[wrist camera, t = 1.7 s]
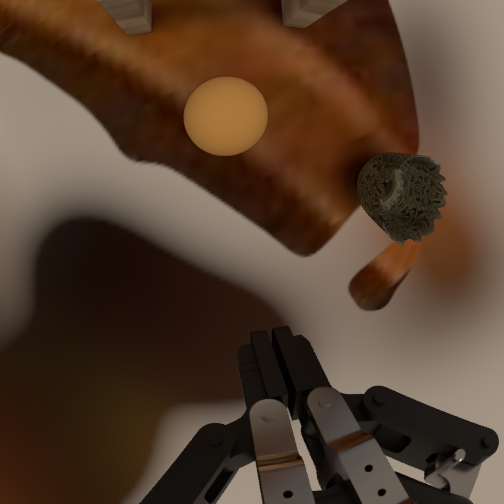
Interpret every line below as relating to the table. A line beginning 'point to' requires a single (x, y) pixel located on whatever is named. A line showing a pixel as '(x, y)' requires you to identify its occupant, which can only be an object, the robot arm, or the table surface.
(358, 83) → the table surface
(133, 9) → the bridge
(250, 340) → the robot arm
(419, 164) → the jagged textured lump
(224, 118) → the ball
